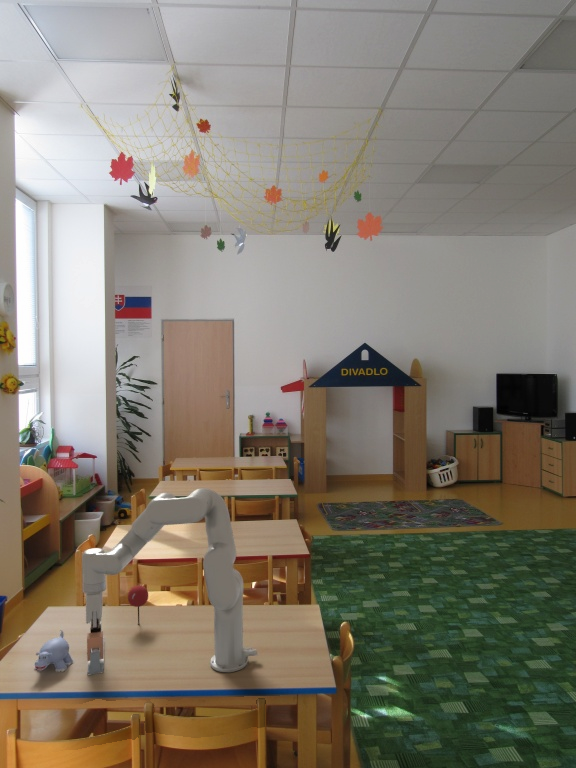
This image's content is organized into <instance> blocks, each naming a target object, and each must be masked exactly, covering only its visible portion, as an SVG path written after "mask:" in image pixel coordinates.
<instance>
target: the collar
mask: <svg viewBox="0 0 576 768" xmlns="http://www.w3.org/2000/svg"><path fill="white" fill-rule="evenodd" d="M103 638H104V631H102V630H101V632H95V633H91V632H89V633H87V634H86V650H87V651H86V654H87V656H86V657H87V662H88V661H90V653H91V649H93V648H100V659H103V654H104V655H105V650H104V651H103Z"/></svg>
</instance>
